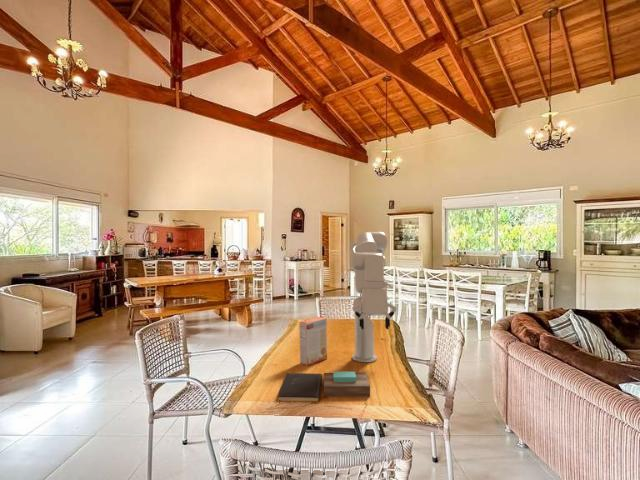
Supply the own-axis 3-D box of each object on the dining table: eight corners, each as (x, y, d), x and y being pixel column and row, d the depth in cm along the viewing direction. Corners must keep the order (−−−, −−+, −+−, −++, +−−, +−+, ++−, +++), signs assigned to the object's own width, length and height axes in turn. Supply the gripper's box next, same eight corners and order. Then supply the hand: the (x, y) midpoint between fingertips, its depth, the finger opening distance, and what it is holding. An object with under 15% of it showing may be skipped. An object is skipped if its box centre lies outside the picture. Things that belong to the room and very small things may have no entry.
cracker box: (319, 356, 185) (319, 316, 185) (327, 359, 180) (327, 318, 180) (299, 363, 175) (298, 321, 175) (307, 366, 171) (307, 323, 170)
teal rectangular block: (333, 376, 148) (333, 371, 148) (354, 376, 148) (354, 371, 148) (333, 382, 142) (333, 377, 142) (356, 382, 142) (356, 377, 142)
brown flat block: (323, 382, 152) (323, 372, 152) (365, 381, 152) (365, 372, 151) (324, 396, 138) (323, 386, 138) (370, 396, 138) (370, 386, 137)
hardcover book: (277, 402, 135) (277, 396, 135) (286, 378, 158) (286, 373, 158) (319, 402, 134) (319, 396, 134) (322, 378, 157) (322, 373, 157)
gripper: (394, 283, 143) (394, 326, 142) (351, 284, 142) (351, 326, 142) (398, 286, 135) (398, 330, 135) (353, 286, 135) (353, 331, 135)
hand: (374, 328), depth 139 cm, fingers open, 9 cm apart
